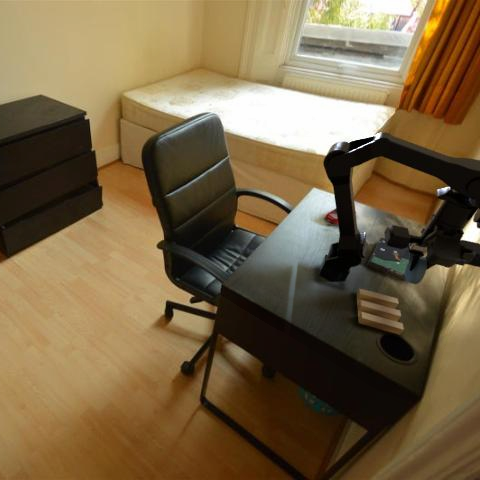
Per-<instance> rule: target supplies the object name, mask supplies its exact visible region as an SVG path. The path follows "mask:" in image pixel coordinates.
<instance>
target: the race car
mask: <svg viewBox="0 0 480 480" xmlns="http://www.w3.org/2000/svg"><path fill="white" fill-rule="evenodd" d="M355 212H356V213H357V211H356V210H355ZM324 220H325V221H326V222H328V223H330V224H331V225H333V226H334V225H336V226H338V218H337V211H336V208H334V209H333V210H330V211H329V212H327V214H325V217H324Z"/></svg>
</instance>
